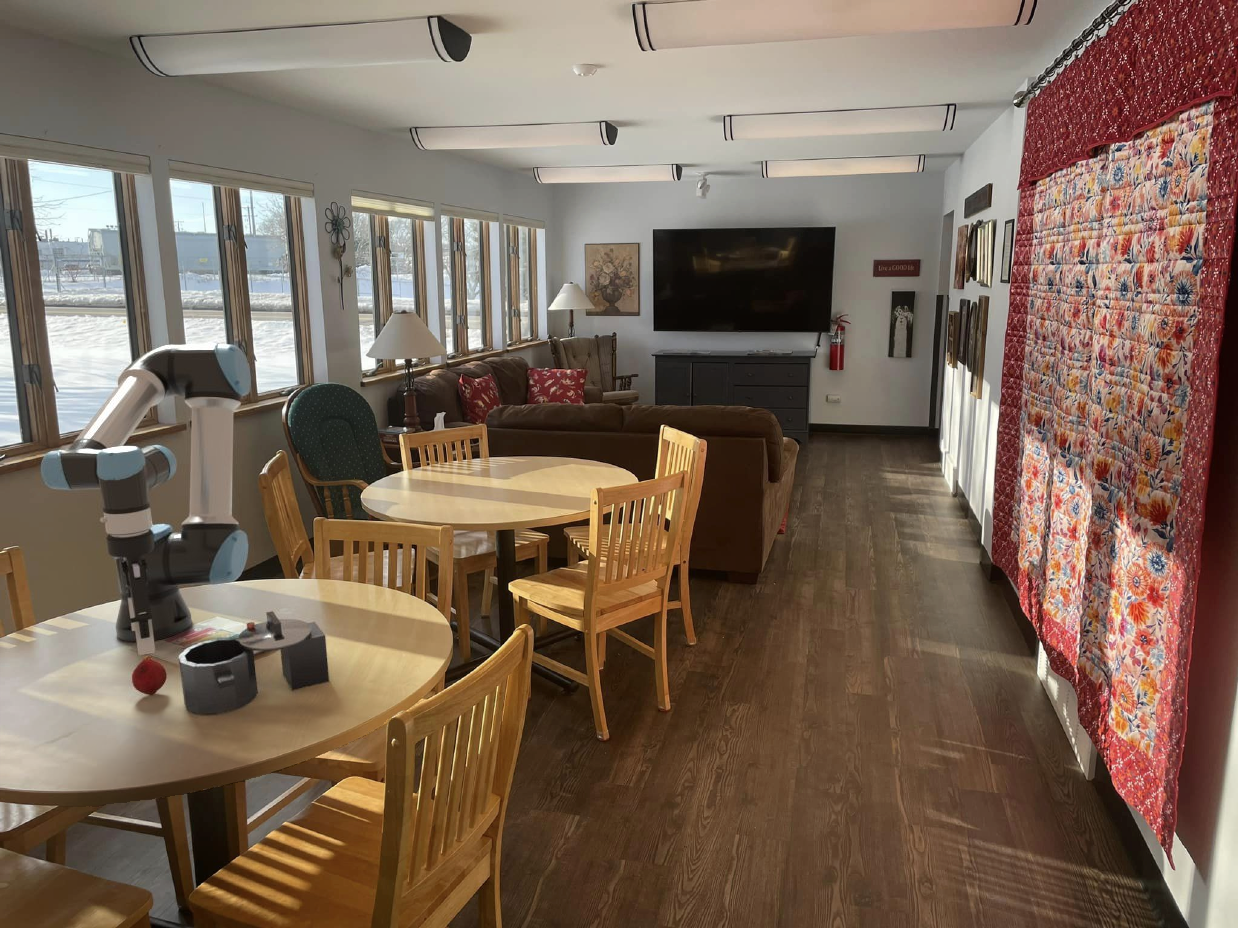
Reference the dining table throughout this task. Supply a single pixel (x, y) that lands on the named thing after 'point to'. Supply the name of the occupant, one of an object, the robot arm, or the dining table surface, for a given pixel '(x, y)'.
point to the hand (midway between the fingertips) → (143, 640)
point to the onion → (149, 676)
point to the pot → (217, 676)
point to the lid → (274, 634)
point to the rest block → (306, 661)
